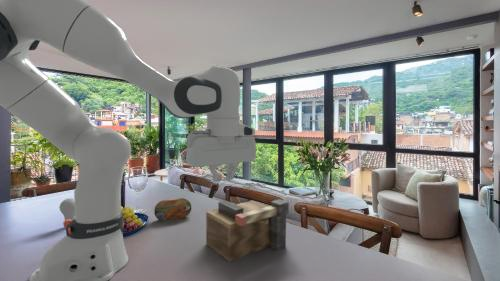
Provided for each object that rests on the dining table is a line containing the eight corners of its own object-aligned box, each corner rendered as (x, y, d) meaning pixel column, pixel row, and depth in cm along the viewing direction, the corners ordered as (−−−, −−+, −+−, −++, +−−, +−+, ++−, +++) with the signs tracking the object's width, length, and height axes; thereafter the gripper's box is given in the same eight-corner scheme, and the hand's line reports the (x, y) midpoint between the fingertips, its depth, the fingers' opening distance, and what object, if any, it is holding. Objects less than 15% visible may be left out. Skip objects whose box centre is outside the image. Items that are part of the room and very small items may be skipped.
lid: (237, 237, 70) (237, 218, 70) (206, 218, 84) (206, 202, 84) (287, 220, 83) (287, 204, 82) (252, 206, 97) (252, 192, 96)
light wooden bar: (241, 226, 71) (241, 217, 71) (235, 222, 74) (235, 214, 73) (279, 214, 81) (279, 207, 81) (273, 211, 83) (273, 204, 83)
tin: (154, 222, 103) (154, 202, 102) (154, 219, 106) (153, 200, 105) (191, 217, 109) (191, 198, 108) (190, 214, 112) (190, 196, 111)
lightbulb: (81, 226, 98) (80, 198, 97) (62, 231, 94) (61, 202, 93) (77, 222, 102) (76, 195, 101) (58, 226, 98) (57, 198, 97)
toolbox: (238, 268, 70) (239, 215, 69) (206, 243, 85) (206, 199, 84) (287, 247, 83) (288, 202, 82) (252, 228, 97) (252, 190, 96)
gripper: (193, 129, 59) (193, 188, 59) (259, 129, 71) (258, 177, 72) (181, 129, 63) (182, 183, 64) (246, 129, 76) (245, 174, 77)
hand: (223, 180), depth 68 cm, fingers open, 3 cm apart
